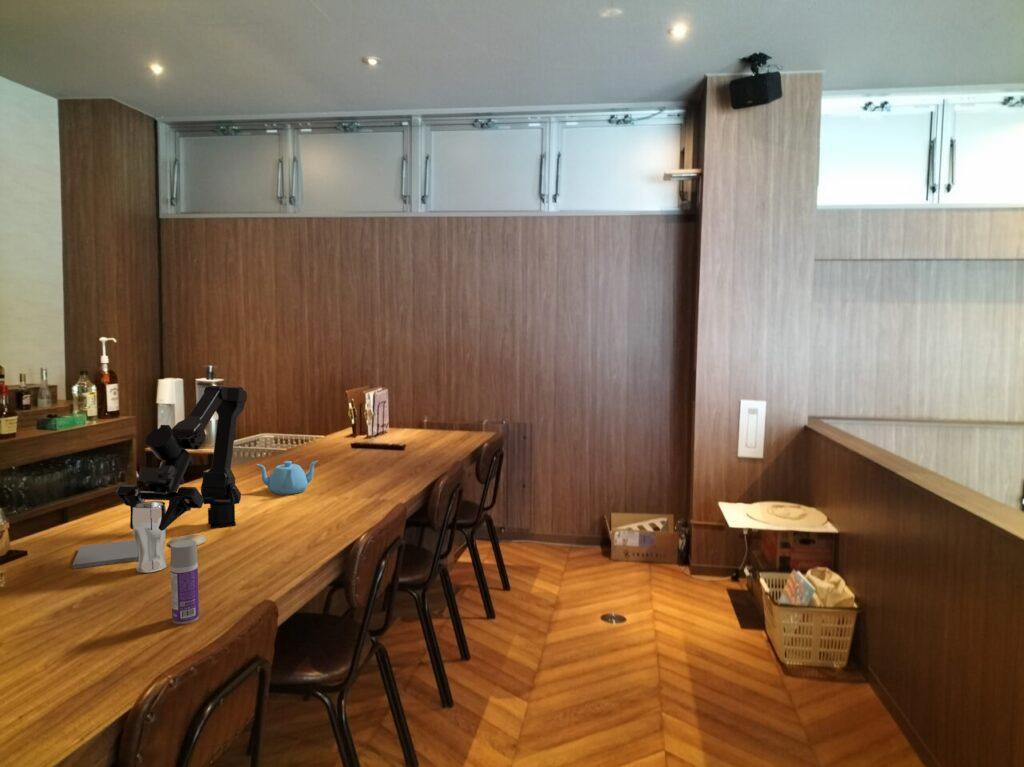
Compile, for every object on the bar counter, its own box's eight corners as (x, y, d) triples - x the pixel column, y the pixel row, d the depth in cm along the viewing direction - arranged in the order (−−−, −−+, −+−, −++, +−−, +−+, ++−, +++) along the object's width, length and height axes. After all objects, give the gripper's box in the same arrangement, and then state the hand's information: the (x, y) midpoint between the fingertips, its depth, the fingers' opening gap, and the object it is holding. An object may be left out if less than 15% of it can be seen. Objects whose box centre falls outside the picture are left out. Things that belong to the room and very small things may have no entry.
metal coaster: (206, 534, 179) (206, 533, 179) (207, 545, 171) (207, 543, 171) (168, 539, 175) (168, 537, 175) (168, 549, 167) (168, 547, 167)
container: (203, 613, 131) (201, 539, 130) (192, 624, 127) (190, 547, 125) (179, 613, 131) (176, 539, 130) (167, 624, 127) (165, 547, 125)
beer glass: (130, 574, 150) (127, 509, 149) (139, 564, 157) (136, 501, 156) (164, 572, 152) (162, 507, 151) (171, 561, 159) (169, 500, 158)
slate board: (144, 542, 172) (144, 538, 172) (142, 560, 160) (142, 556, 160) (80, 549, 166) (80, 546, 166) (72, 568, 153) (72, 564, 153)
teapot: (288, 484, 236) (287, 455, 235) (321, 489, 230) (320, 459, 229) (256, 493, 223) (255, 463, 222) (290, 499, 216) (289, 467, 215)
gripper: (118, 451, 157) (88, 510, 147) (196, 453, 156) (171, 513, 146) (140, 476, 165) (113, 534, 155) (213, 478, 164) (191, 536, 154)
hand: (146, 529), depth 152 cm, fingers closed on beer glass, 7 cm apart
